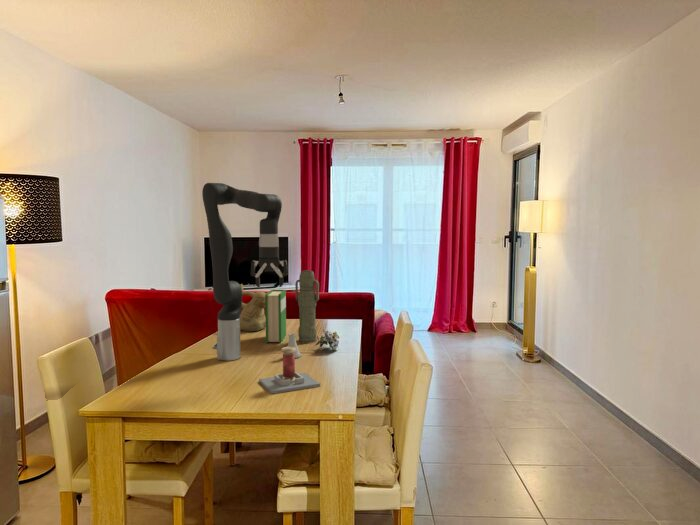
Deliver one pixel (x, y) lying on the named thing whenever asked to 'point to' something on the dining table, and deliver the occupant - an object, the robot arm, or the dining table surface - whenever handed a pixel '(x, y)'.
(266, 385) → the board
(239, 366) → the dining table surface
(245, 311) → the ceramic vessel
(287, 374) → the bobbin
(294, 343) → the flask
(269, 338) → the hardback book
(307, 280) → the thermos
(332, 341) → the passion flower
